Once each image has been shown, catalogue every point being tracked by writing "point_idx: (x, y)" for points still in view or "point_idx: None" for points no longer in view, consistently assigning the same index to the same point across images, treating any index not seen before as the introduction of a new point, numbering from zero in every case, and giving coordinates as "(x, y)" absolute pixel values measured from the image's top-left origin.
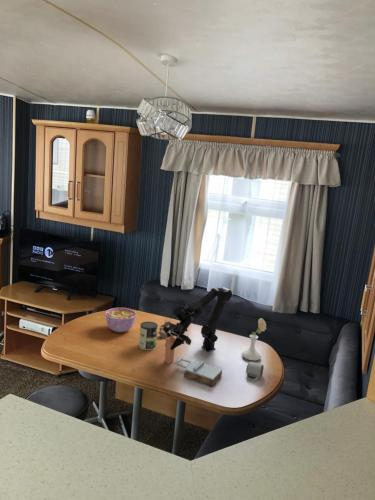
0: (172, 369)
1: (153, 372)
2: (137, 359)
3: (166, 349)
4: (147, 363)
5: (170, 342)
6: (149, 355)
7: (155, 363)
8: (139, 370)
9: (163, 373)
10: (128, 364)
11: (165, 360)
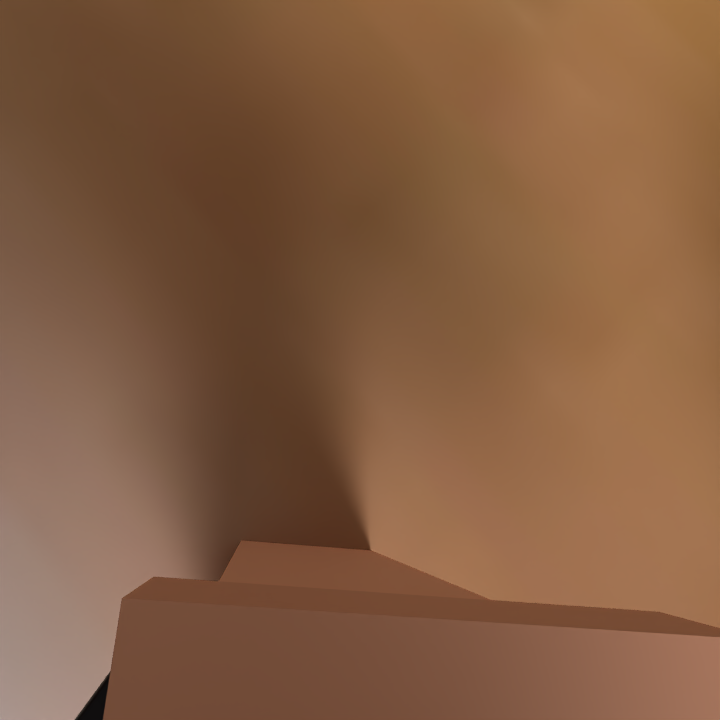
0: (33, 404)
1: (238, 89)
2: (714, 238)
3: (401, 576)
4: (517, 249)
5: (189, 580)
6: (708, 500)
7: (425, 347)
8: (439, 4)
9: (81, 171)
10: (672, 36)
11: (348, 551)
